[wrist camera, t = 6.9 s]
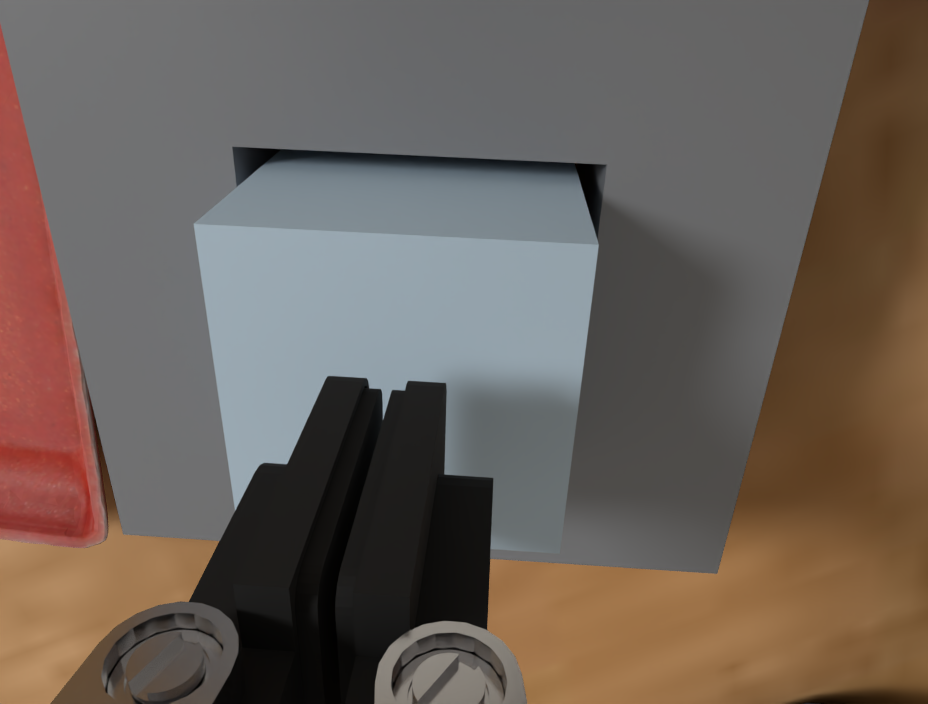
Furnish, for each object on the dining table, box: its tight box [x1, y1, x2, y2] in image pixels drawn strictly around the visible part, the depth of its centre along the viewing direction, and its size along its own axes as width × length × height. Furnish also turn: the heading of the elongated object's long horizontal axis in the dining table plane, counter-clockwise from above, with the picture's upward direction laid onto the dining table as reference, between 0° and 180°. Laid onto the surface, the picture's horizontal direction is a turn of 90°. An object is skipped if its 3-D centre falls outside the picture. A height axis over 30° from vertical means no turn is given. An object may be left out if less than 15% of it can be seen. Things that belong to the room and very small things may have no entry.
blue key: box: [194, 149, 599, 554], centre depth 14 cm, size 6×6×5 cm
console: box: [0, 0, 869, 574], centre depth 14 cm, size 22×14×5 cm, turn 178°
